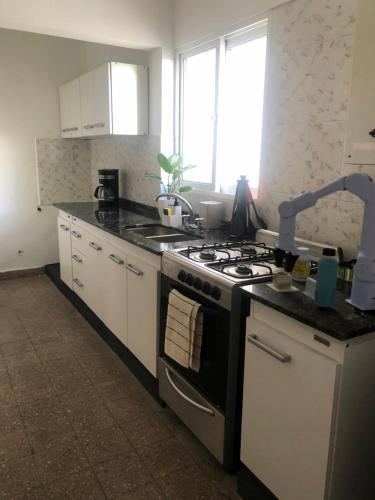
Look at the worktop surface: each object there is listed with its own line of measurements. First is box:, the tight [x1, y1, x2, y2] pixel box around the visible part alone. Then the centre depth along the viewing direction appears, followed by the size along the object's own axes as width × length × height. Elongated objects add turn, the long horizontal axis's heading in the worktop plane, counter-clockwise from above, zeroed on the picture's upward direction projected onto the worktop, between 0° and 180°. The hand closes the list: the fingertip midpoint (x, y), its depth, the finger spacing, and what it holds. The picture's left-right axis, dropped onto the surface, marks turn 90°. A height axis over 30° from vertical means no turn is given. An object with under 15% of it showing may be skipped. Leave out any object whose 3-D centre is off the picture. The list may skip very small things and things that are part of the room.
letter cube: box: [272, 271, 293, 289], centre depth 157 cm, size 5×5×5 cm
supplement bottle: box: [291, 246, 312, 282], centre depth 168 cm, size 7×7×13 cm
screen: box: [302, 277, 316, 302], centre depth 148 cm, size 8×3×6 cm, turn 16°
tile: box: [265, 283, 300, 293], centre depth 158 cm, size 9×9×1 cm
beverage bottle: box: [313, 247, 339, 308], centre depth 135 cm, size 6×7×20 cm
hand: (283, 269), depth 156 cm, fingers open, 7 cm apart
